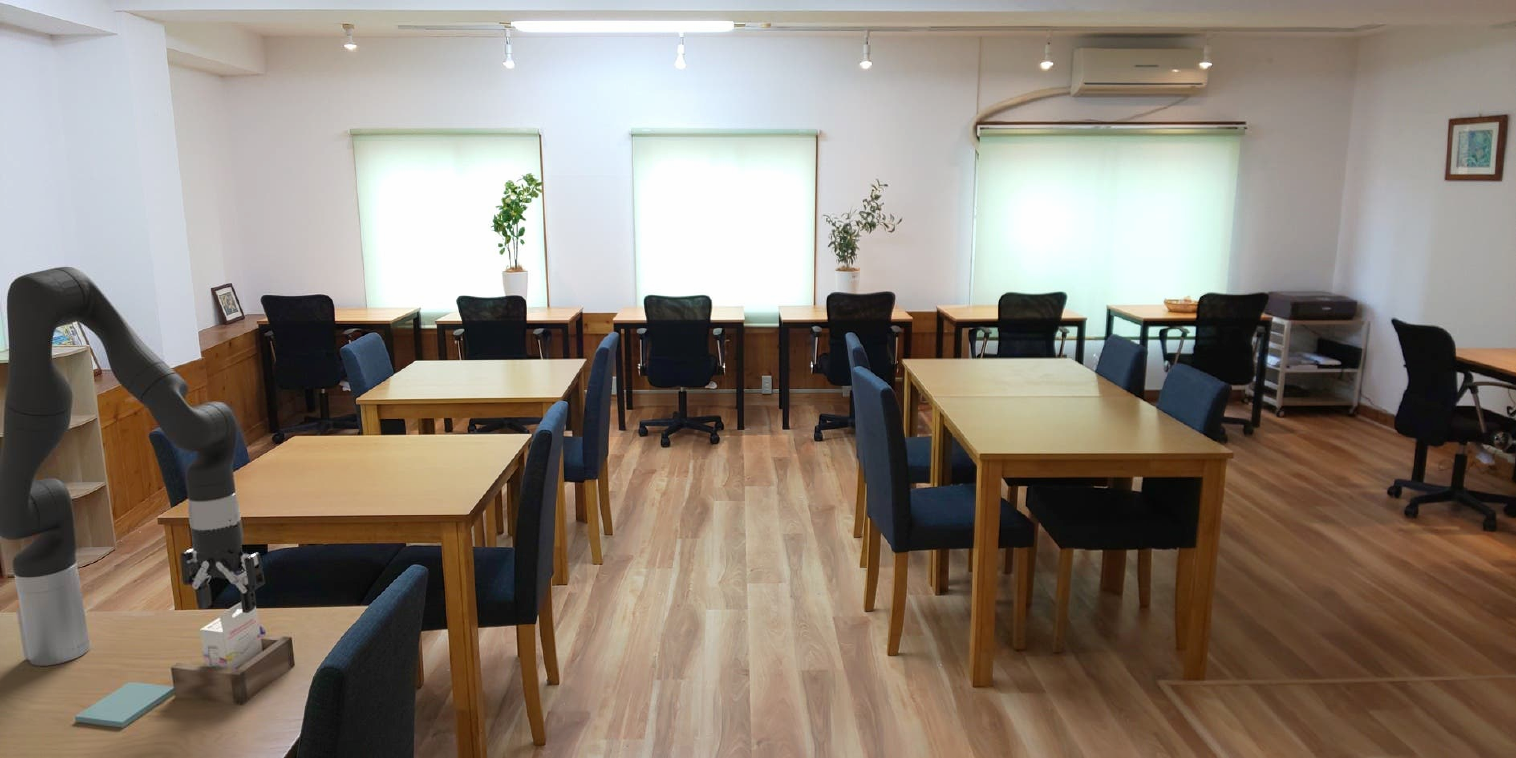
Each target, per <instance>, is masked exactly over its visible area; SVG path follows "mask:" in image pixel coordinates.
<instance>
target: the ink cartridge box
mask: <svg viewBox="0 0 1516 758" xmlns="http://www.w3.org/2000/svg"><path fill="white" fill-rule="evenodd" d="M259 626H260V621H259V615H258V610H257V605H256V606H255V608H254V609H253V610H252V611H250V612H249V613H243V611H242V604H241V601H240V602H239V603H237V604H235V605H233V606H232V607H230V608H229V609H227V610H225V611H224V612H222V613H220V615H219V618H216V619H215V620H213V621H211V622H210V623H208V624H206V625H205V626H203V627H201V628H200V629H199V631H198V632H199V637H200V641H201V649H202V650H201V651H202V654H203V655H202V656H203V662H204V666H208V667H217V668H226V669H235V670H237V669H238V668H240V667H241V666H243V665H244V664H246V663H247V662H248V661H250V660H251V659H253V658H254V657H256V656H257V655H258V654H260V653H261V652H263V651H262V643H261V636H260V628H259Z"/></svg>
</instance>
